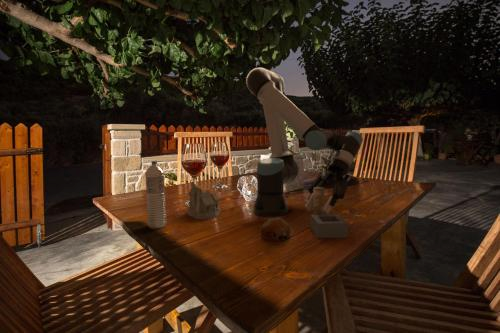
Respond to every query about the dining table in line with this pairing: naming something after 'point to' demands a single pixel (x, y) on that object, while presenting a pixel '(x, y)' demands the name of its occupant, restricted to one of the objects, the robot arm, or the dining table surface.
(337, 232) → the socket
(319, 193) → the dowel
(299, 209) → the dining table surface
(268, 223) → the bread roll
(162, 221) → the water bottle
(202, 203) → the ceramic cottage
